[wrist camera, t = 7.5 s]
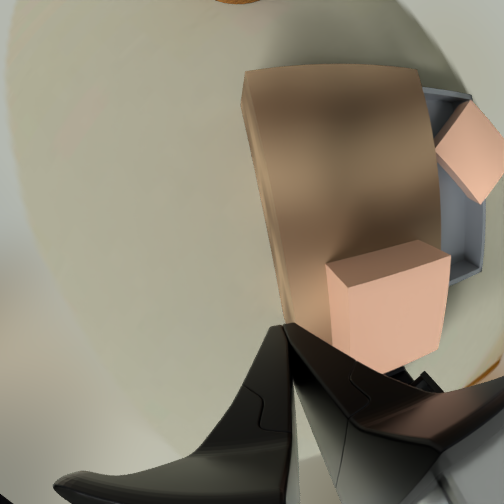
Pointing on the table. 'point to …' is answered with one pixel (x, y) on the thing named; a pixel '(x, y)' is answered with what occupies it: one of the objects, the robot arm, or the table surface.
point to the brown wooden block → (338, 171)
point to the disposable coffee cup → (237, 1)
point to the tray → (456, 199)
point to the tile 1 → (389, 304)
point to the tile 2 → (471, 151)
